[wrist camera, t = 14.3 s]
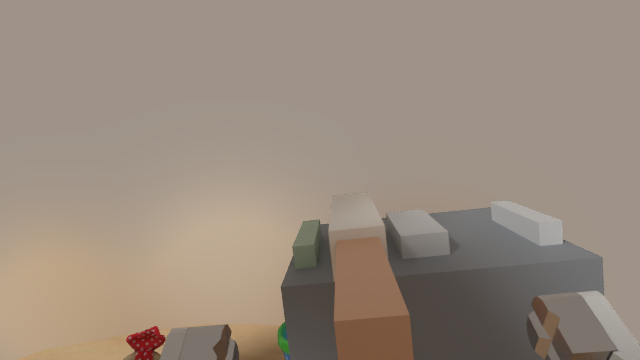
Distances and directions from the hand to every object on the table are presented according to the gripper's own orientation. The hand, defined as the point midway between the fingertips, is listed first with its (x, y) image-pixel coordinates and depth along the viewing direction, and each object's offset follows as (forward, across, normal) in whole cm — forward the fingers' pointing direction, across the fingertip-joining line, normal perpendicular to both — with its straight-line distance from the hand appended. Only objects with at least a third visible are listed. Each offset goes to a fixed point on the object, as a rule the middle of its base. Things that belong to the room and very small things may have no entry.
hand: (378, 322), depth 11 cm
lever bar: (+10, 0, +9) cm, 14 cm away
